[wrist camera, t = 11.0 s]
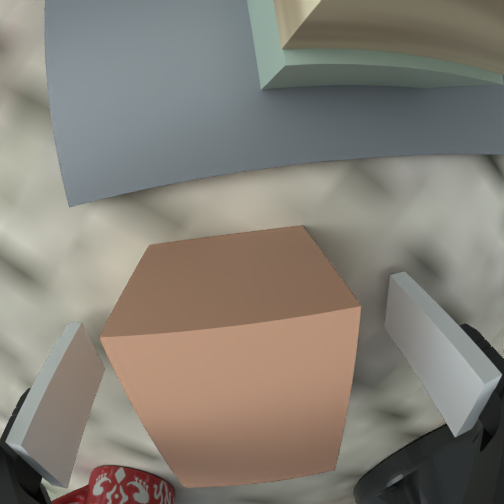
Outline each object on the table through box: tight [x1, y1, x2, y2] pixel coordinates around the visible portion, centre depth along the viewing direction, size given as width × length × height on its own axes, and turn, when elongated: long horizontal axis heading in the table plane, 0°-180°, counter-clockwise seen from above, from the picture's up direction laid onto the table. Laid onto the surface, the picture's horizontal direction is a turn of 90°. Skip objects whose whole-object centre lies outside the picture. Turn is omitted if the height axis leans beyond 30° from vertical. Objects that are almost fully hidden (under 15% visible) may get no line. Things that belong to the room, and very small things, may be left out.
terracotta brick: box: [99, 225, 361, 487], centre depth 11 cm, size 8×6×6 cm
